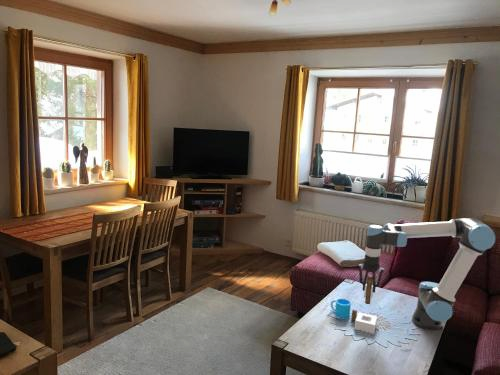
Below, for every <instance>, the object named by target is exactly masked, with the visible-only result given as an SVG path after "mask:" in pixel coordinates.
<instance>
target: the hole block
mask: <svg viewBox="0 0 500 375" xmlns="http://www.w3.org/2000/svg"><path fill="white" fill-rule="evenodd" d="M377 321H378V316H377V315H373V314H369V313H368V314H367V313H363V312H358V311H357V317H356V320H355V322H354V330H356V329H357V330H358V331H360V330H361V332H364V331H365V332H364V333H368V332H370V333H369V334H375V331H376V328H377Z"/></svg>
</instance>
